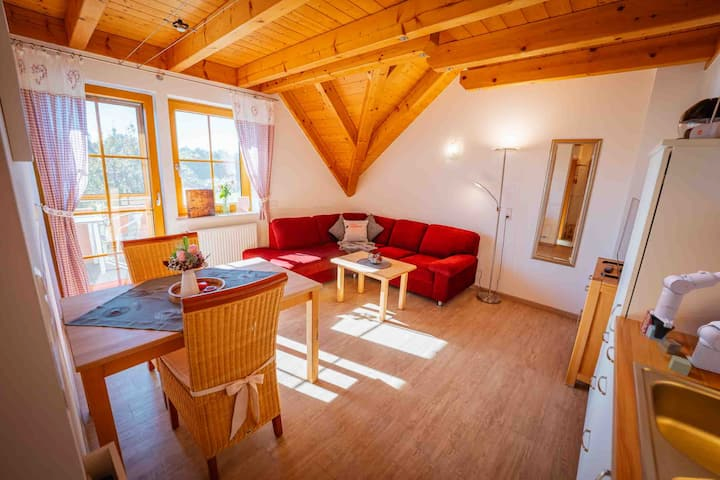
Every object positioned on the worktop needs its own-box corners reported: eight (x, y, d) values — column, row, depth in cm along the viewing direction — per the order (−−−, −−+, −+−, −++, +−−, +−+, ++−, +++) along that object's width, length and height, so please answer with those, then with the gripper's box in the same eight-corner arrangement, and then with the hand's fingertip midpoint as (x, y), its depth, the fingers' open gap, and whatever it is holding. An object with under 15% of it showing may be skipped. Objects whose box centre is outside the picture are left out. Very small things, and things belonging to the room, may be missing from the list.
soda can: (636, 330, 136) (645, 307, 133) (647, 331, 136) (656, 308, 133) (646, 337, 131) (656, 313, 128) (658, 337, 131) (667, 314, 128)
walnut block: (668, 348, 124) (672, 339, 123) (677, 354, 120) (682, 345, 119) (656, 346, 125) (660, 337, 123) (665, 353, 120) (669, 344, 119)
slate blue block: (645, 333, 121) (649, 324, 119) (660, 337, 118) (664, 328, 117) (648, 338, 117) (652, 329, 116) (663, 343, 115) (668, 333, 113)
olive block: (685, 370, 110) (689, 360, 109) (686, 376, 107) (691, 366, 106) (668, 364, 113) (672, 354, 112) (669, 370, 110) (674, 360, 109)
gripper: (649, 295, 121) (638, 324, 125) (659, 309, 110) (647, 340, 114) (673, 301, 118) (661, 330, 122) (685, 315, 106) (672, 347, 110)
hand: (655, 335), depth 117 cm, fingers closed on slate blue block, 4 cm apart
